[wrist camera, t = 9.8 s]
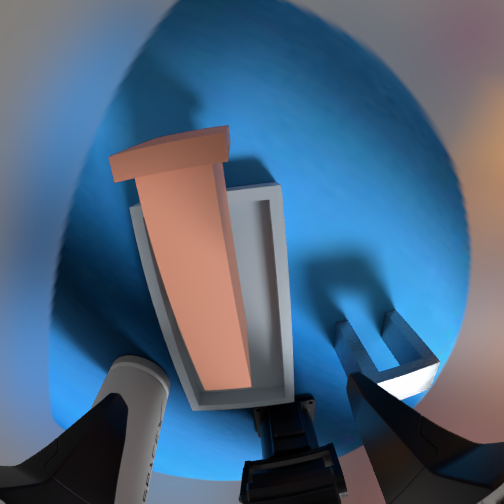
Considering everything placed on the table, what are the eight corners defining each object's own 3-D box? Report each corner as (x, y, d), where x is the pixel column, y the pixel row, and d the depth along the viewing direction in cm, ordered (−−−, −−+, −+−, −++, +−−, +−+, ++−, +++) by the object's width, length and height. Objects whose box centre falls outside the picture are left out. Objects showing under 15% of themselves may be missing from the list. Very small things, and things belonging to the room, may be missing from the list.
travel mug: (103, 375, 24) (39, 534, 5) (127, 343, 22) (48, 543, 3) (151, 405, 25) (117, 566, 6) (182, 378, 24) (152, 578, 5)
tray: (290, 385, 25) (294, 401, 23) (195, 394, 25) (192, 410, 22) (276, 181, 18) (281, 185, 16) (140, 201, 18) (129, 207, 16)
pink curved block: (254, 323, 21) (262, 393, 15) (201, 328, 21) (195, 398, 15) (228, 125, 14) (224, 132, 8) (156, 137, 14) (108, 156, 8)
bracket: (391, 335, 23) (429, 388, 16) (334, 348, 23) (362, 412, 16) (395, 309, 22) (440, 361, 15) (336, 322, 22) (369, 385, 15)
